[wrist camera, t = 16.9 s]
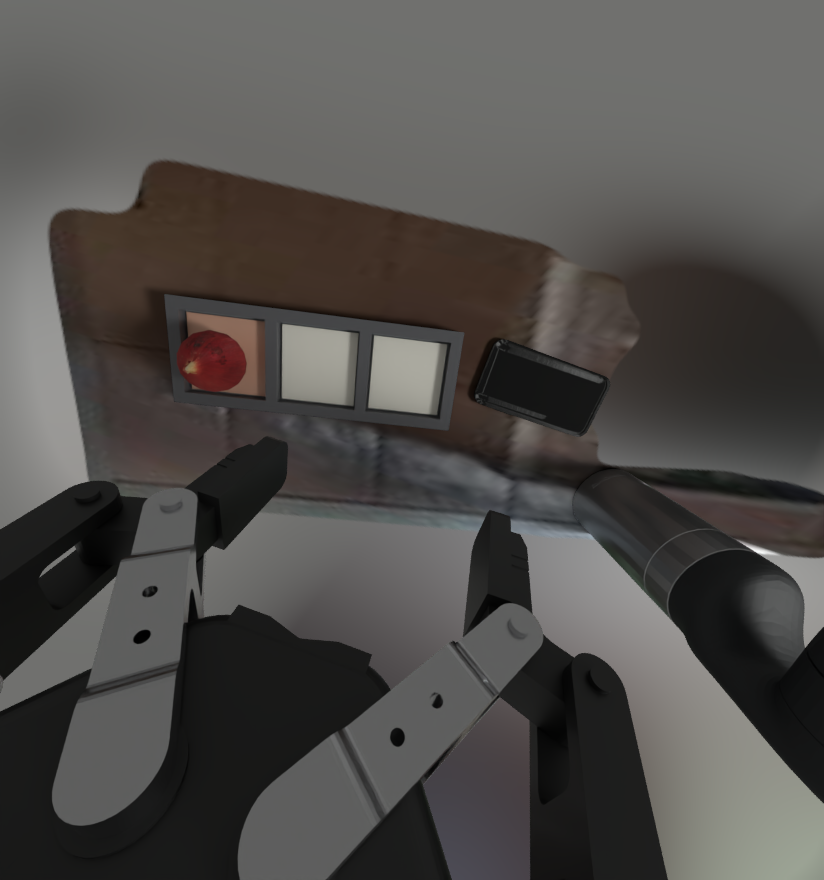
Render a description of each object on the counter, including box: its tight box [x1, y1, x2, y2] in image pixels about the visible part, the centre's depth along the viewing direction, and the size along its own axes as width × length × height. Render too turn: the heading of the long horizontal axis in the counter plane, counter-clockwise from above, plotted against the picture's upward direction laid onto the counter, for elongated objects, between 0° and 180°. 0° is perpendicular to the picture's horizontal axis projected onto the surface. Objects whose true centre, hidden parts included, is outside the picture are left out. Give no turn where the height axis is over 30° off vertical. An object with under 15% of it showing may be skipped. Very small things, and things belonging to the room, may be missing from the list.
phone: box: [474, 339, 610, 437], centre depth 41 cm, size 8×1×15 cm
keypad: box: [164, 294, 464, 431], centre depth 38 cm, size 30×11×3 cm, turn 83°
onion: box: [177, 330, 247, 392], centre depth 33 cm, size 6×6×8 cm
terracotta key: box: [186, 312, 266, 397], centre depth 37 cm, size 8×8×1 cm
